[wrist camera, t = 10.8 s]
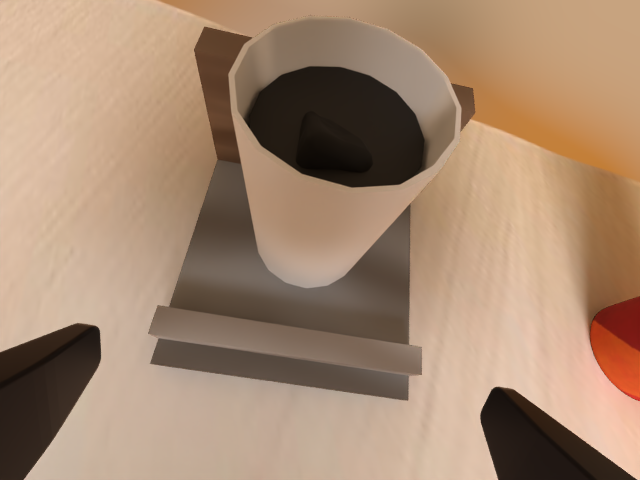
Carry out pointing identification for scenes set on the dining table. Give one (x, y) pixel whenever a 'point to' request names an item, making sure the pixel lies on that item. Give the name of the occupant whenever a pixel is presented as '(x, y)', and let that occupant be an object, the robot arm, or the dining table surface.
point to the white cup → (335, 139)
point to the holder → (283, 283)
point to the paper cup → (619, 345)
